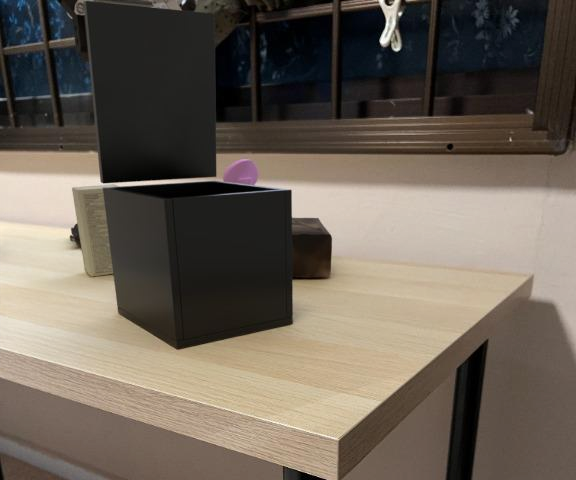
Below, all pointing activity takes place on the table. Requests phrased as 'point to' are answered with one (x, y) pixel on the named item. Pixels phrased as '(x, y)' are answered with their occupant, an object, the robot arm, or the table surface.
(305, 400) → the table surface
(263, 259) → the trash can
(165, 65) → the black lid
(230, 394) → the table surface
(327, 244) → the dark brown block
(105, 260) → the cosmetic box
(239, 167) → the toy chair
